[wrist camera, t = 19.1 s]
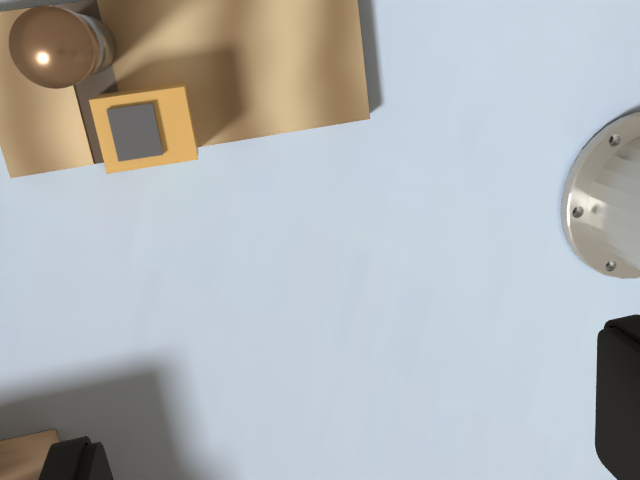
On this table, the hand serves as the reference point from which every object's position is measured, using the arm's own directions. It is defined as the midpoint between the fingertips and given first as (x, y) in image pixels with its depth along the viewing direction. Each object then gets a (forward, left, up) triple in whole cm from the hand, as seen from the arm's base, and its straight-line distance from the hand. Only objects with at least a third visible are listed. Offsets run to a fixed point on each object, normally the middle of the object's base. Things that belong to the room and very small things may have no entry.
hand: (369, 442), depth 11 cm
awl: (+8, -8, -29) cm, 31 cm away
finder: (+5, -3, -29) cm, 30 cm away
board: (+3, -5, -30) cm, 31 cm away
